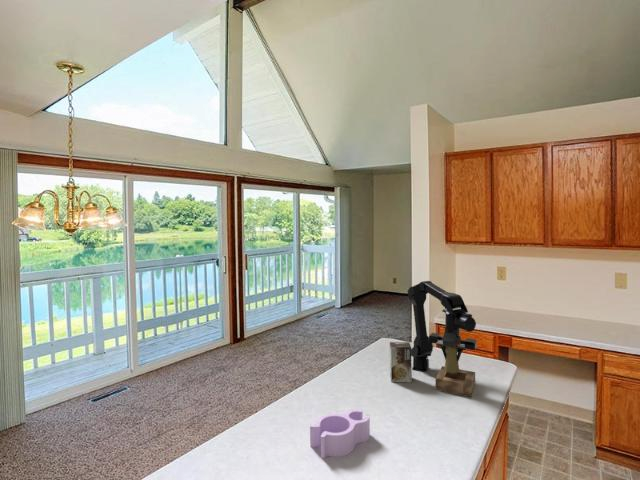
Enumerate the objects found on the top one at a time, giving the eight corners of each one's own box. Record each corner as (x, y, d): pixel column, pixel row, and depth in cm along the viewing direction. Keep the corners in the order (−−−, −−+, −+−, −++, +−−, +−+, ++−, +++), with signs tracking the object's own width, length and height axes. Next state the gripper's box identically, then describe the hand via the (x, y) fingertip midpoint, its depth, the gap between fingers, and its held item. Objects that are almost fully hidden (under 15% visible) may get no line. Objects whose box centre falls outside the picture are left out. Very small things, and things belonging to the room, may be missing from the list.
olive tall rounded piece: (460, 373, 154) (460, 347, 153) (444, 372, 155) (445, 346, 154) (458, 367, 159) (458, 342, 159) (443, 366, 161) (443, 341, 160)
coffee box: (409, 376, 169) (409, 342, 168) (411, 382, 163) (411, 347, 162) (389, 375, 170) (389, 341, 169) (390, 382, 164) (390, 346, 163)
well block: (435, 389, 156) (435, 378, 156) (442, 376, 168) (442, 366, 168) (471, 397, 149) (471, 385, 149) (475, 383, 162) (475, 372, 161)
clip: (354, 423, 132) (354, 404, 132) (377, 441, 122) (377, 421, 121) (305, 442, 122) (305, 421, 121) (326, 463, 111) (326, 441, 111)
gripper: (425, 326, 154) (424, 363, 155) (473, 333, 144) (472, 372, 145) (431, 319, 163) (431, 354, 164) (477, 325, 154) (476, 362, 155)
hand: (451, 360), depth 157 cm, fingers closed on olive tall rounded piece, 4 cm apart
